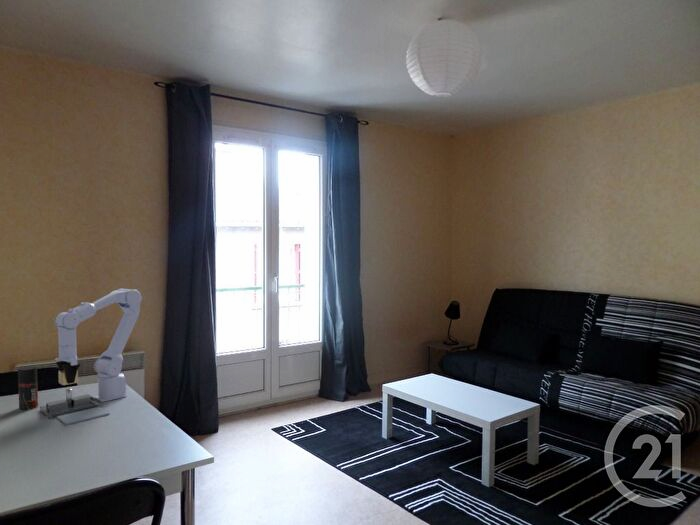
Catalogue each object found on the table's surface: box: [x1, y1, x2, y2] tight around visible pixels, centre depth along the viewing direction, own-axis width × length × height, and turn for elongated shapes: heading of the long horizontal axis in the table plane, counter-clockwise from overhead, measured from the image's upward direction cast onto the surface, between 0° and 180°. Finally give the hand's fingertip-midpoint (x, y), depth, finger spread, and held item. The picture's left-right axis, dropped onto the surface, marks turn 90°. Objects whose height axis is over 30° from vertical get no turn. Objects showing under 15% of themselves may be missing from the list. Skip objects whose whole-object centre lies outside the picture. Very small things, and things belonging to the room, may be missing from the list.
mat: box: [56, 406, 110, 426], centre depth 174 cm, size 14×10×1 cm
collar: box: [58, 369, 79, 386], centre depth 181 cm, size 5×5×4 cm
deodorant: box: [17, 365, 39, 411], centre depth 183 cm, size 6×6×15 cm
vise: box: [39, 387, 99, 420], centre depth 181 cm, size 16×12×8 cm
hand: (68, 381), depth 181 cm, fingers closed on collar, 5 cm apart
